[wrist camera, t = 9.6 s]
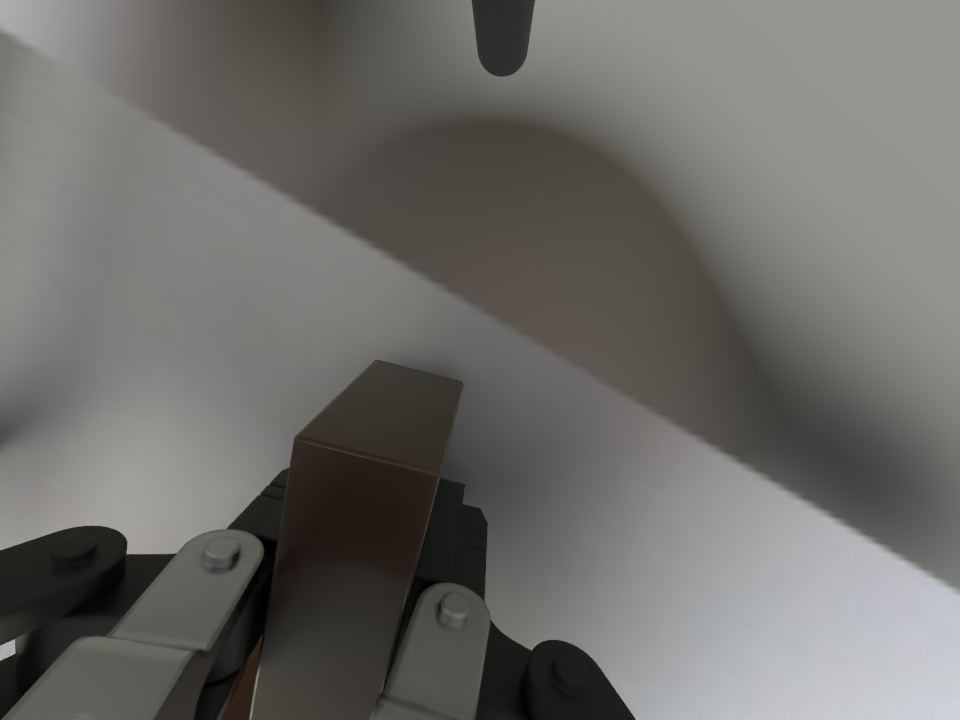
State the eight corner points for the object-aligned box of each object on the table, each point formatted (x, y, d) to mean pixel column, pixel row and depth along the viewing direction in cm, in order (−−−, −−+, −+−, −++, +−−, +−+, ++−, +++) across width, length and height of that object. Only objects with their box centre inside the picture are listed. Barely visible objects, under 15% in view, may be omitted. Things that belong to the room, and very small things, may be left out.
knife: (375, 358, 11) (292, 435, 6) (464, 381, 11) (441, 473, 7) (283, 813, 15) (193, 1048, 11) (348, 828, 15) (286, 1068, 11)
